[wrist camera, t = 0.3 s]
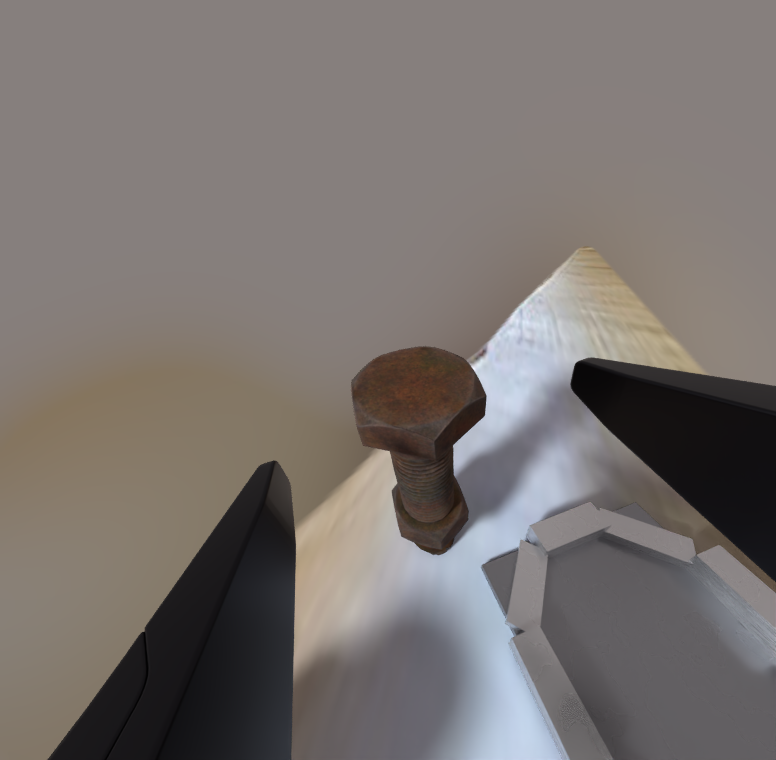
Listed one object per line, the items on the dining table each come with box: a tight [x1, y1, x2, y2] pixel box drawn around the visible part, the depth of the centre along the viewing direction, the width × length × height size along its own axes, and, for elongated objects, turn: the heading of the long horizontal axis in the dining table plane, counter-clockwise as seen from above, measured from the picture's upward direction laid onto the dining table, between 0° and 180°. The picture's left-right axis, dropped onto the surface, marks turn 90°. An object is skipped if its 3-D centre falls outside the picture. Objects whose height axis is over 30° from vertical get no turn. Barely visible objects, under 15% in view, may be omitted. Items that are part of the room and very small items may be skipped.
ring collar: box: [481, 502, 776, 760], centre depth 14 cm, size 13×13×2 cm
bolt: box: [351, 347, 486, 555], centre depth 16 cm, size 6×5×15 cm
